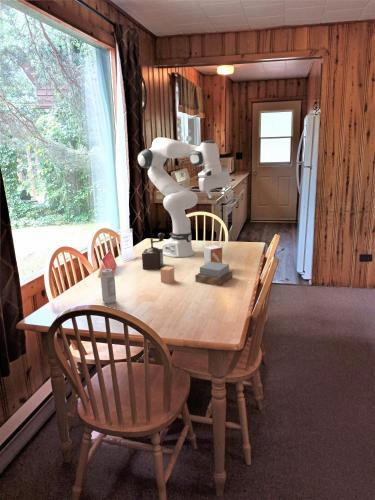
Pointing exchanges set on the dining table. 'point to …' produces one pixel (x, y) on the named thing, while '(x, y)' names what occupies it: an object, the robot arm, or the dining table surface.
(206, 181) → the robot arm
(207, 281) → the tower base
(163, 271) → the pillar block
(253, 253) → the dining table surface
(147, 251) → the pepper mill
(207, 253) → the small box
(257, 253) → the dining table surface
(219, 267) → the grey square slab
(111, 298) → the energy drink can
